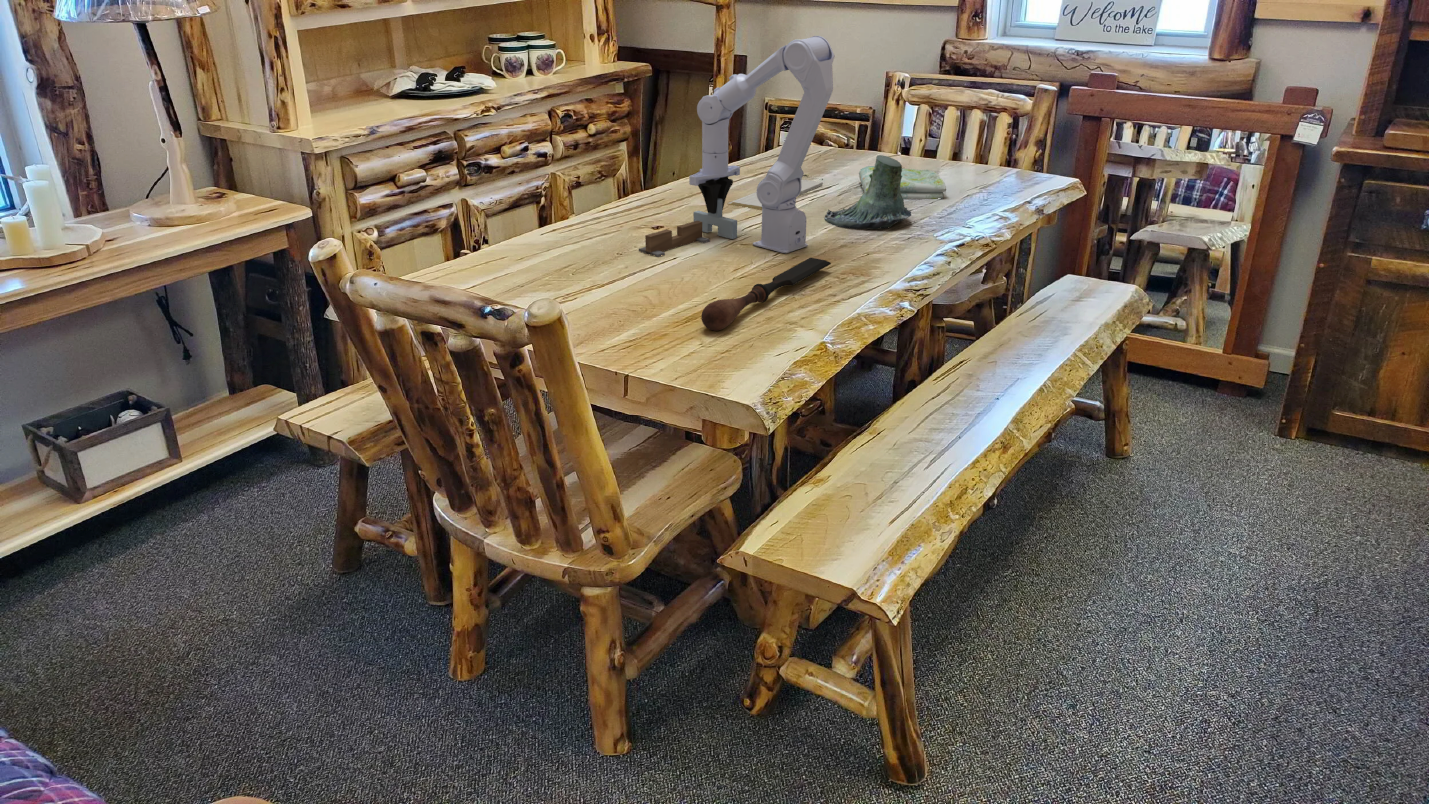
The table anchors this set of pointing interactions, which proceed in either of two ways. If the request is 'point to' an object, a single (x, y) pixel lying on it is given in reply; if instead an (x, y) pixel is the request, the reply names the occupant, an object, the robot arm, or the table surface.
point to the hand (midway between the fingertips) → (715, 211)
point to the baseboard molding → (754, 203)
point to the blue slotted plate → (717, 222)
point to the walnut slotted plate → (673, 238)
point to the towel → (912, 183)
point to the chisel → (757, 294)
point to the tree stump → (875, 200)
